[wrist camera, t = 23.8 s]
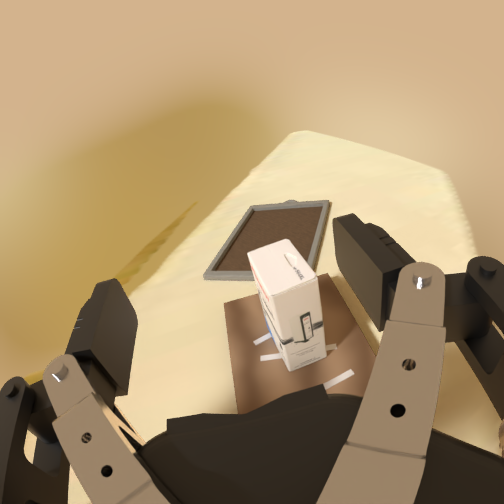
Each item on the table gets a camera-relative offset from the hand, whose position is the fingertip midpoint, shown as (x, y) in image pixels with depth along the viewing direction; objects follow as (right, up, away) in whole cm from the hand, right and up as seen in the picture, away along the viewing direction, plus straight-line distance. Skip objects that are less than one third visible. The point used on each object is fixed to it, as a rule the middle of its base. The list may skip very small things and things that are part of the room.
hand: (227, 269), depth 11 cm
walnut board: (+7, -13, +26) cm, 29 cm away
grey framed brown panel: (+6, +4, +54) cm, 54 cm away
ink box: (+6, -10, +26) cm, 29 cm away
